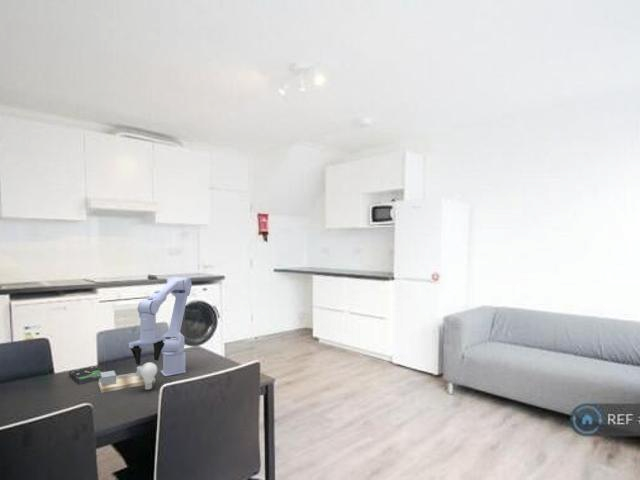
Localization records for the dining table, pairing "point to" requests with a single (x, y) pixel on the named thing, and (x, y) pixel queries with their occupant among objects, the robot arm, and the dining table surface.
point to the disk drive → (85, 375)
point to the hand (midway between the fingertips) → (147, 362)
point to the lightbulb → (148, 374)
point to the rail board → (120, 380)
